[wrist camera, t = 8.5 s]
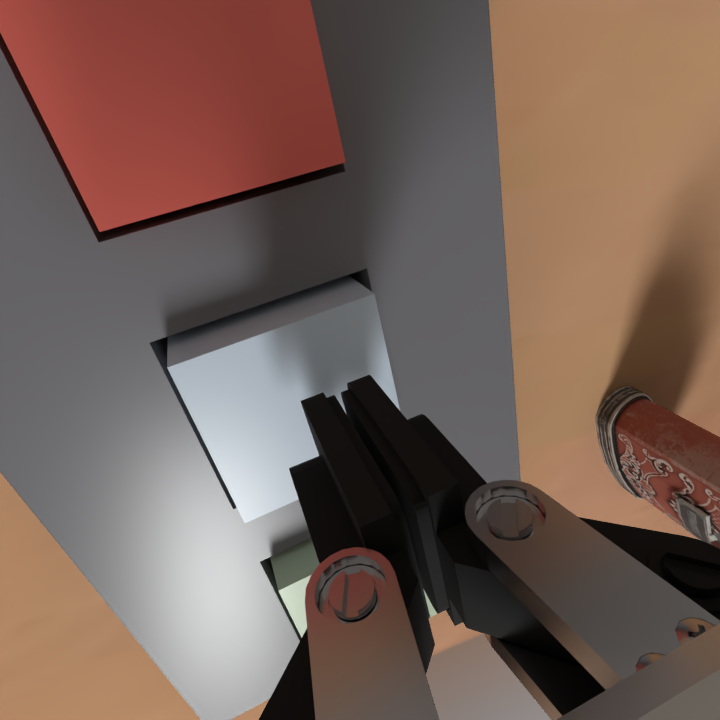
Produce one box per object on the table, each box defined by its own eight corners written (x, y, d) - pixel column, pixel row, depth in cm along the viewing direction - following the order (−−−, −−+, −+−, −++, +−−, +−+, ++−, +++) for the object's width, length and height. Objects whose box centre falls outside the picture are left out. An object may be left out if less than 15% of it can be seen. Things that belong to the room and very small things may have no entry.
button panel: (399, -179, 11) (469, -279, 8) (485, 513, 22) (526, 560, 20) (-322, -98, 8) (-559, -217, 5) (204, 654, 19) (210, 730, 17)
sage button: (382, 459, 18) (423, 519, 15) (404, 544, 20) (443, 610, 17) (259, 514, 17) (278, 590, 14) (298, 597, 19) (321, 676, 16)
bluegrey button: (332, 264, 14) (374, 293, 11) (366, 397, 16) (409, 450, 13) (168, 318, 13) (167, 367, 10) (230, 452, 15) (245, 523, 12)
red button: (243, -80, 10) (272, -174, 7) (305, 159, 12) (345, 162, 10) (-2, -44, 9) (-83, -136, 6) (117, 211, 11) (99, 232, 9)
